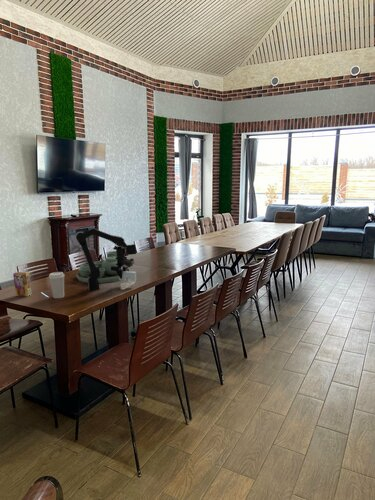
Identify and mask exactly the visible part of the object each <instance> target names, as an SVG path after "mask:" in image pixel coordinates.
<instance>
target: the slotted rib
mask: <svg viewBox="0 0 375 500" xmlns="http://www.w3.org/2000/svg"><path fill="white" fill-rule="evenodd" d="M134 284H136V281H129V278H128V279H127V280H125V281H122V282H121V283H120V290H122V291H123V290H126V289H127V288H129V287H131V286H133V285H134Z"/></svg>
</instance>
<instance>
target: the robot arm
mask: <svg viewBox="0 0 375 500" xmlns="http://www.w3.org/2000/svg"><path fill="white" fill-rule="evenodd" d="M91 236H97V237H98V238H101V239H104V240H107V241H110V242H111V243H113V244H114V247H113V248H112V249H113V251H116V256H117V257H115V259H117V263H116V265H114V266H111V268H110V269H111V271H116V272H117V274H118V275H119V277H120V279H122V271H126V269H127V268H131V267H133V264H135V260H134V258H131V257H130V258H128V257H127V256H126V255H128V256H130V255H137V248H136V244H135V243H133V244H127V243H126V242H125V239H124V238H123V237H122V236H119V235H113V234H110V233H107V232H104V231H102V230H99V229H96V228H95V227H91V228H89V229H86V230H83V231H78V232H76V234H75V237H76V238H75V239H76V241H77V242H78V244H79V245H80V247H81V248H82V251H83V255H84V256H85V259H86V261H87V264H89V268H90V274H89V276H88V281H87V282H88V283H87V291H89V292H93V291H97V290H100V283H99V282H98V280H97V279H98V278H99V276H100V270H99V267H98V265H97V266H96V265H95V264H94V262H95V261H94V260H93V257H92V254H91V252H90V249H89V247H88V243H87V238H89V237H91ZM127 266H128V267H127Z"/></svg>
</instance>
